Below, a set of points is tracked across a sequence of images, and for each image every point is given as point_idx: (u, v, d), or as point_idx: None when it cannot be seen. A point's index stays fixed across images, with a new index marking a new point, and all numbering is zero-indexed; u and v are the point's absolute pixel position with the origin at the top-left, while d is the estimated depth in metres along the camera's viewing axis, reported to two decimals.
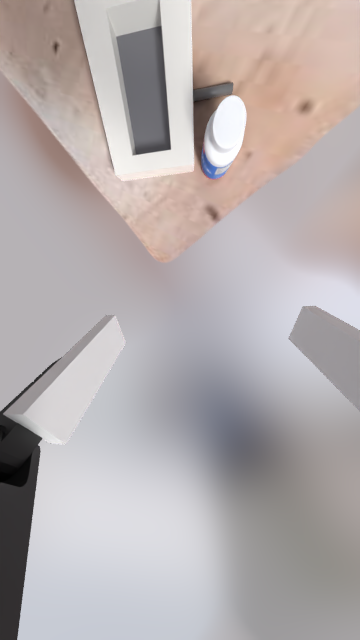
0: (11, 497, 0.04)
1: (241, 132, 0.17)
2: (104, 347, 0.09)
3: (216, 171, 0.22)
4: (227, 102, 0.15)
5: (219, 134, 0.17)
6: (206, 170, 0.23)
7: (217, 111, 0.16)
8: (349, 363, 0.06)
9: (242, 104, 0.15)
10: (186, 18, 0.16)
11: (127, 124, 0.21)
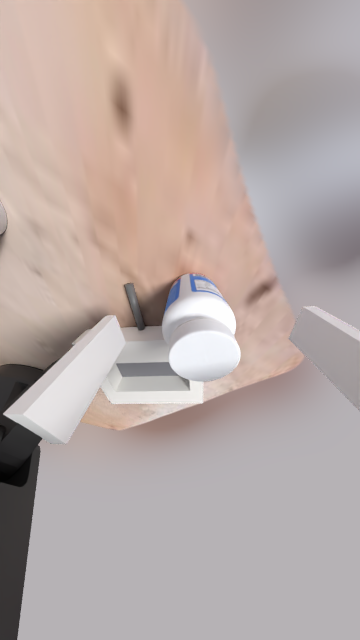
0: (11, 497, 0.04)
1: (221, 337, 0.07)
2: (104, 347, 0.09)
3: None
4: (177, 365, 0.08)
5: (216, 372, 0.08)
6: None
7: (186, 377, 0.08)
8: (349, 363, 0.06)
9: (180, 342, 0.07)
10: None
11: (168, 388, 0.21)
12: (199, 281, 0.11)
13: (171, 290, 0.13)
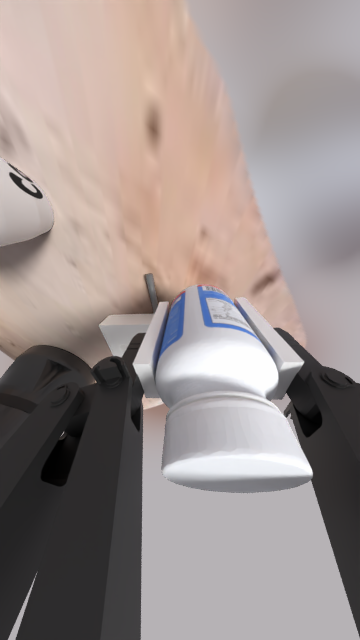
0: (136, 438, 0.05)
1: (282, 464, 0.03)
2: None
3: None
4: (178, 480, 0.04)
5: (251, 488, 0.04)
6: None
7: (196, 487, 0.05)
8: None
9: (185, 463, 0.03)
10: (124, 328, 0.19)
11: None
12: (213, 301, 0.07)
13: (172, 310, 0.09)
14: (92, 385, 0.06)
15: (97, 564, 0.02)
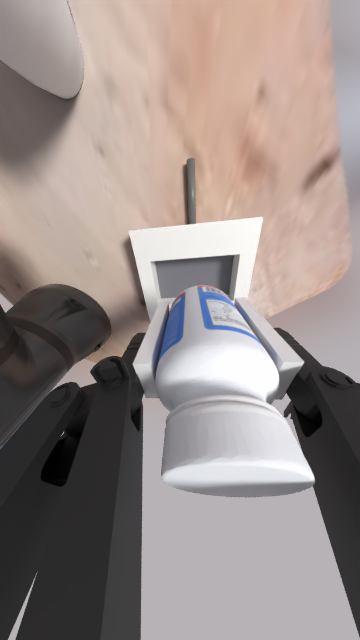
0: (136, 438, 0.05)
1: (283, 471, 0.03)
2: None
3: None
4: (178, 485, 0.04)
5: (252, 493, 0.04)
6: None
7: (196, 492, 0.05)
8: None
9: (185, 469, 0.03)
10: (159, 233, 0.17)
11: None
12: (214, 303, 0.07)
13: (172, 311, 0.09)
14: (92, 385, 0.06)
15: (97, 564, 0.02)
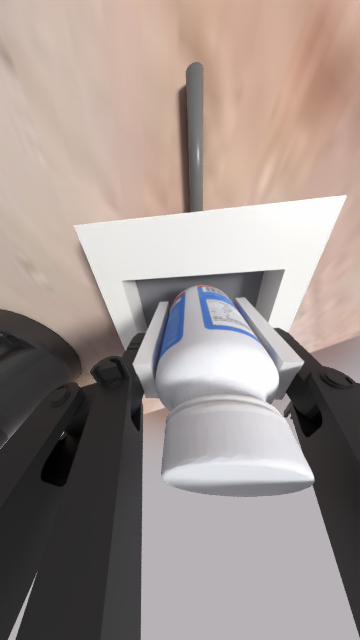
0: (136, 438, 0.05)
1: (283, 470, 0.03)
2: None
3: None
4: (178, 484, 0.04)
5: (252, 493, 0.04)
6: None
7: (196, 491, 0.05)
8: None
9: (185, 468, 0.03)
10: (132, 230, 0.09)
11: None
12: (214, 303, 0.07)
13: (172, 311, 0.09)
14: (92, 385, 0.06)
15: (97, 563, 0.02)
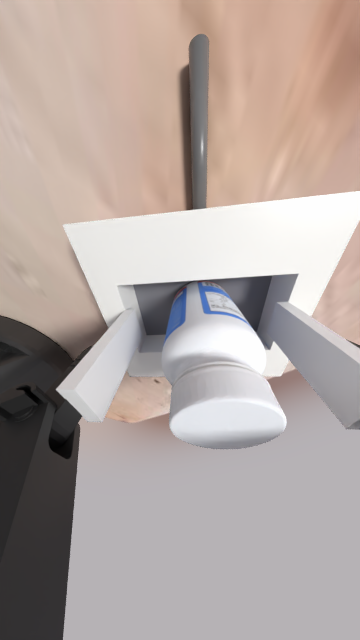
0: (61, 467, 0.04)
1: (260, 407, 0.04)
2: (127, 338, 0.09)
3: None
4: (182, 433, 0.05)
5: (241, 442, 0.05)
6: None
7: (196, 444, 0.06)
8: (308, 350, 0.07)
9: (188, 410, 0.04)
10: (128, 230, 0.08)
11: None
12: (212, 294, 0.08)
13: (174, 303, 0.10)
14: None
15: None
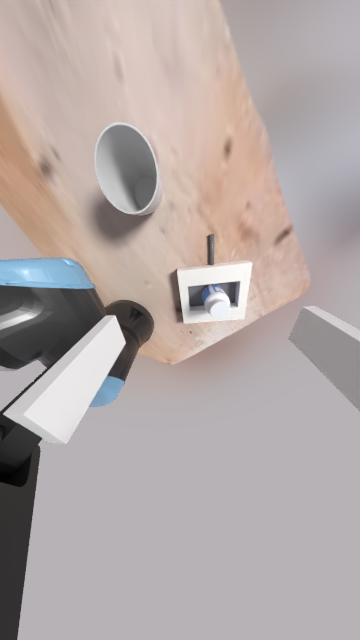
0: (11, 497, 0.04)
1: (224, 303, 0.26)
2: (104, 347, 0.09)
3: None
4: (212, 313, 0.27)
5: (223, 315, 0.27)
6: None
7: (214, 317, 0.27)
8: (349, 363, 0.06)
9: (214, 305, 0.26)
10: (194, 272, 0.30)
11: None
12: (216, 287, 0.30)
13: (204, 291, 0.32)
14: None
15: None
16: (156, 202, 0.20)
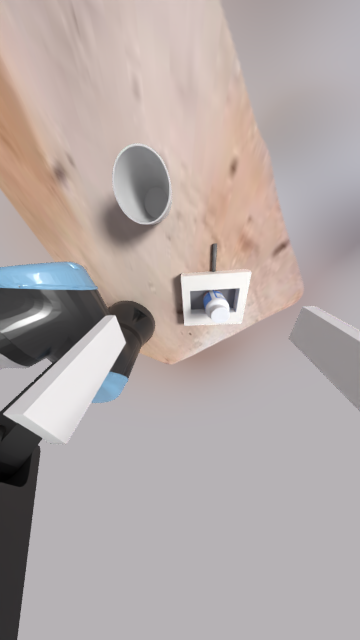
0: (11, 497, 0.04)
1: (225, 309, 0.28)
2: (104, 347, 0.09)
3: None
4: (213, 317, 0.29)
5: (223, 320, 0.29)
6: None
7: (215, 321, 0.29)
8: (349, 363, 0.06)
9: (214, 310, 0.28)
10: (196, 278, 0.31)
11: None
12: (217, 293, 0.32)
13: (206, 296, 0.34)
14: None
15: None
16: (166, 214, 0.22)
